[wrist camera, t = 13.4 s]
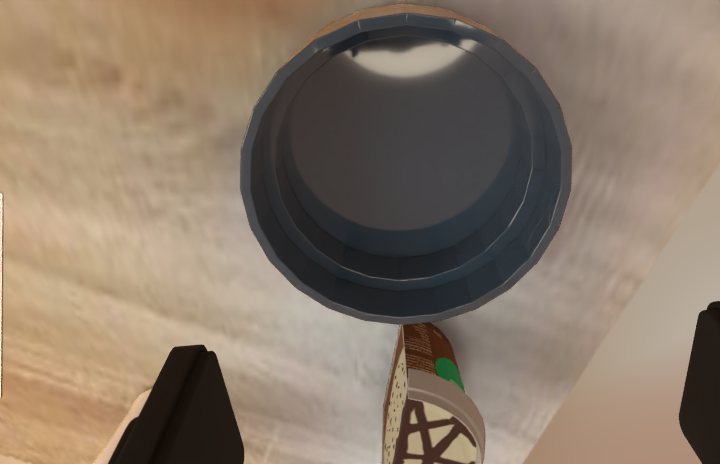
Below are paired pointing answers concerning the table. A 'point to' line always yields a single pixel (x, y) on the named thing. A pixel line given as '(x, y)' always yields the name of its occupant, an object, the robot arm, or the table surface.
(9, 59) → the table surface
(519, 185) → the bowl
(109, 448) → the drinking glass
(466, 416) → the food container
